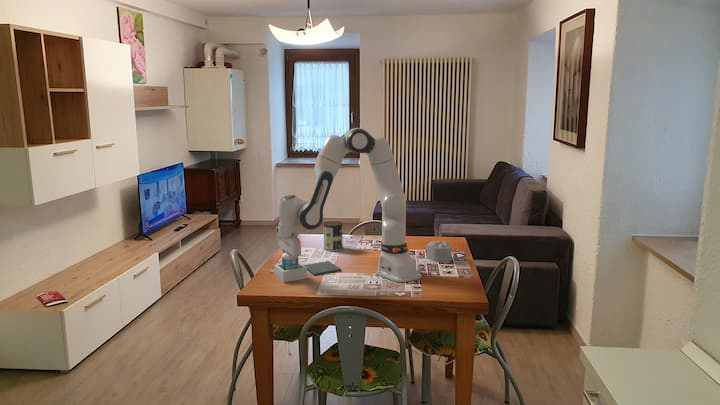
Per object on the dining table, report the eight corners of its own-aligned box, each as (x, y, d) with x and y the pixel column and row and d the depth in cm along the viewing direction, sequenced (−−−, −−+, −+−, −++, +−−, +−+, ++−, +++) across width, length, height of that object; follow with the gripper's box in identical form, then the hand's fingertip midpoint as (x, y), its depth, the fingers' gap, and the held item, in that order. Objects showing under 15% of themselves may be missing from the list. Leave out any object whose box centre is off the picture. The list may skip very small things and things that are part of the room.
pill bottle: (285, 280, 250) (284, 251, 248) (280, 275, 257) (279, 247, 254) (301, 277, 254) (300, 249, 251) (295, 273, 260) (294, 245, 257)
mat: (341, 270, 263) (341, 268, 263) (314, 275, 257) (314, 273, 256) (328, 262, 275) (328, 260, 275) (302, 267, 269) (302, 265, 268)
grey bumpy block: (440, 254, 289) (440, 238, 287) (456, 260, 278) (457, 243, 276) (424, 257, 284) (424, 240, 282) (440, 264, 273) (440, 246, 271)
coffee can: (343, 246, 304) (342, 221, 301) (342, 251, 294) (342, 225, 291) (324, 246, 304) (323, 221, 302) (322, 251, 294) (322, 225, 291)
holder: (307, 278, 253) (306, 267, 252) (283, 282, 248) (283, 271, 247) (297, 271, 263) (297, 261, 262) (274, 275, 257) (274, 264, 256)
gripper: (304, 235, 244) (305, 265, 246) (287, 225, 261) (287, 253, 264) (291, 237, 241) (291, 268, 243) (274, 227, 258) (275, 255, 261)
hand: (289, 260), depth 254 cm, fingers open, 8 cm apart
